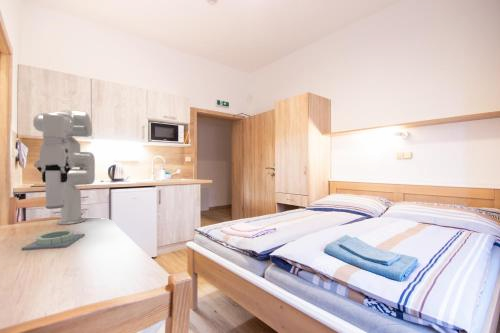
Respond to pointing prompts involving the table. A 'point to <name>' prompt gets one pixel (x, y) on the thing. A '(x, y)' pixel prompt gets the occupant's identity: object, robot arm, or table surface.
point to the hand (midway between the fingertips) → (55, 181)
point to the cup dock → (62, 245)
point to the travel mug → (54, 187)
